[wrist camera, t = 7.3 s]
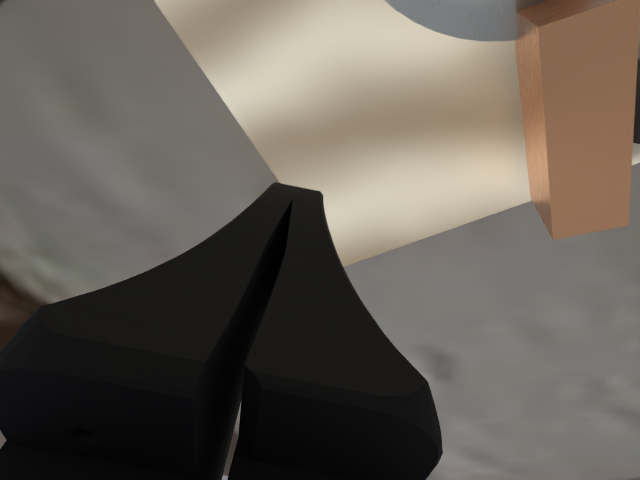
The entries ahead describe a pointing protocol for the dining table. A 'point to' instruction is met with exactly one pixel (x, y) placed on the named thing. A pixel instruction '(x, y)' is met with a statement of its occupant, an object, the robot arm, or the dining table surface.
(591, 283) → the dining table surface
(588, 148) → the grey and orange-brown pieces
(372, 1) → the base board
